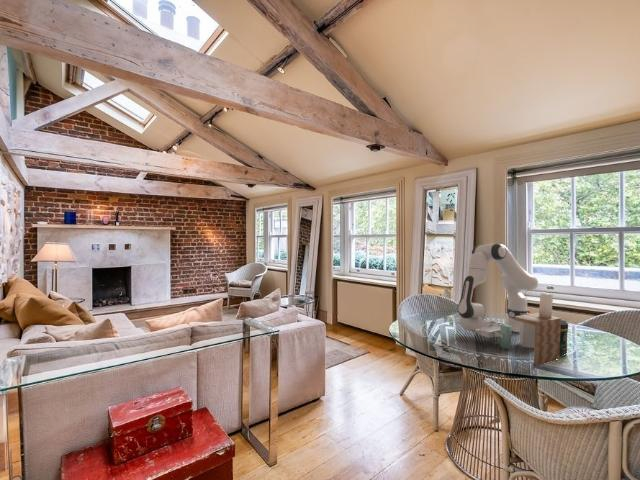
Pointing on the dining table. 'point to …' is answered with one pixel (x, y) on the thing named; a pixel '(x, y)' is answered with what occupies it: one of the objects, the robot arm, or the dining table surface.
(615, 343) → the dining table surface
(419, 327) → the dining table surface
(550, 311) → the white glossy cylinder
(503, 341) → the sage green cylinder
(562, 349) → the coffee jar
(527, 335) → the milk carton
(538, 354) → the walnut counter
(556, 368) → the dining table surface
